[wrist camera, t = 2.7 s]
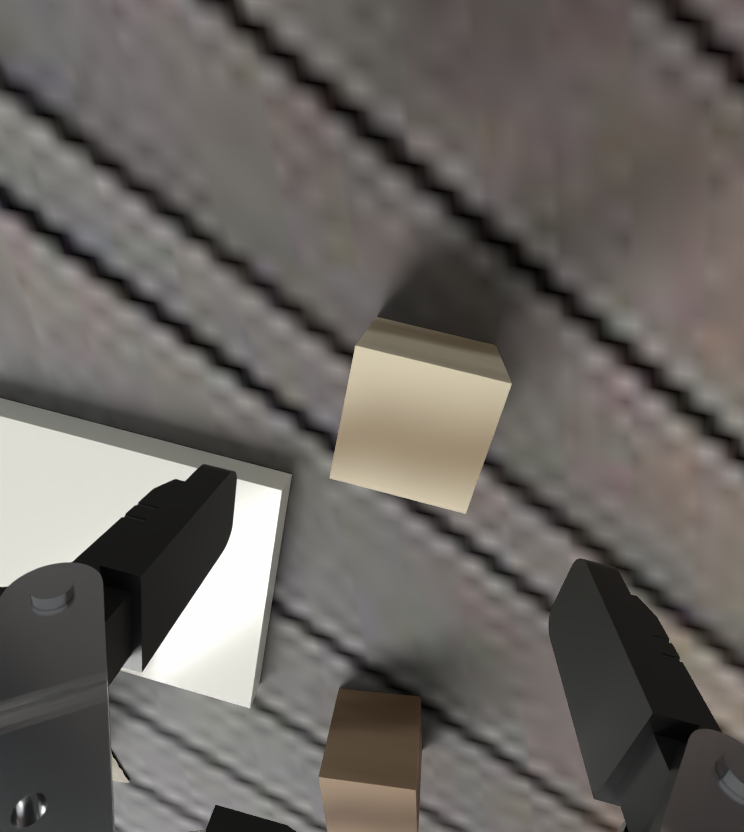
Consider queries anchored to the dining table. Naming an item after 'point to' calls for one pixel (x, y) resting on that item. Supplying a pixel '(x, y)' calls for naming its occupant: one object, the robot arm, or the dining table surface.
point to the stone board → (109, 501)
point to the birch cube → (419, 413)
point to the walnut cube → (372, 763)
